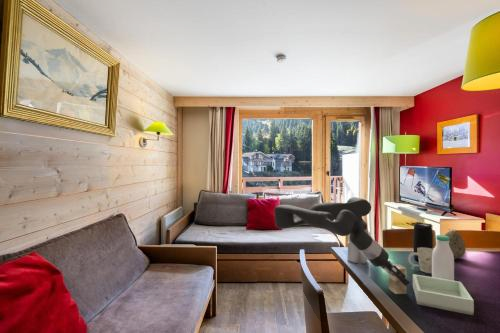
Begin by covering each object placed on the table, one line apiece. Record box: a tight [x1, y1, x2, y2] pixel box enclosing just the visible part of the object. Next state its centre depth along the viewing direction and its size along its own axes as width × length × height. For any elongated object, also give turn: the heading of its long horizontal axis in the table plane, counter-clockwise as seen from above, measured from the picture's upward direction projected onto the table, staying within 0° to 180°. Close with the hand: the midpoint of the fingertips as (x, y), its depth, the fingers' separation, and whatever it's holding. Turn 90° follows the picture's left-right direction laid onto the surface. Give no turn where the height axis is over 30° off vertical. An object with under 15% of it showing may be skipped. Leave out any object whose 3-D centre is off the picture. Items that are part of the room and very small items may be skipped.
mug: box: [407, 247, 434, 274], centre depth 125 cm, size 8×13×10 cm, turn 78°
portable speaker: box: [412, 221, 434, 261], centre depth 139 cm, size 9×9×20 cm
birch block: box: [388, 263, 408, 295], centre depth 105 cm, size 4×4×10 cm
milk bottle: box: [431, 234, 455, 281], centre depth 113 cm, size 8×8×20 cm
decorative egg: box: [444, 230, 467, 260], centre depth 142 cm, size 11×11×15 cm
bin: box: [412, 273, 475, 316], centre depth 99 cm, size 16×16×5 cm
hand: (400, 279), depth 105 cm, fingers open, 8 cm apart
